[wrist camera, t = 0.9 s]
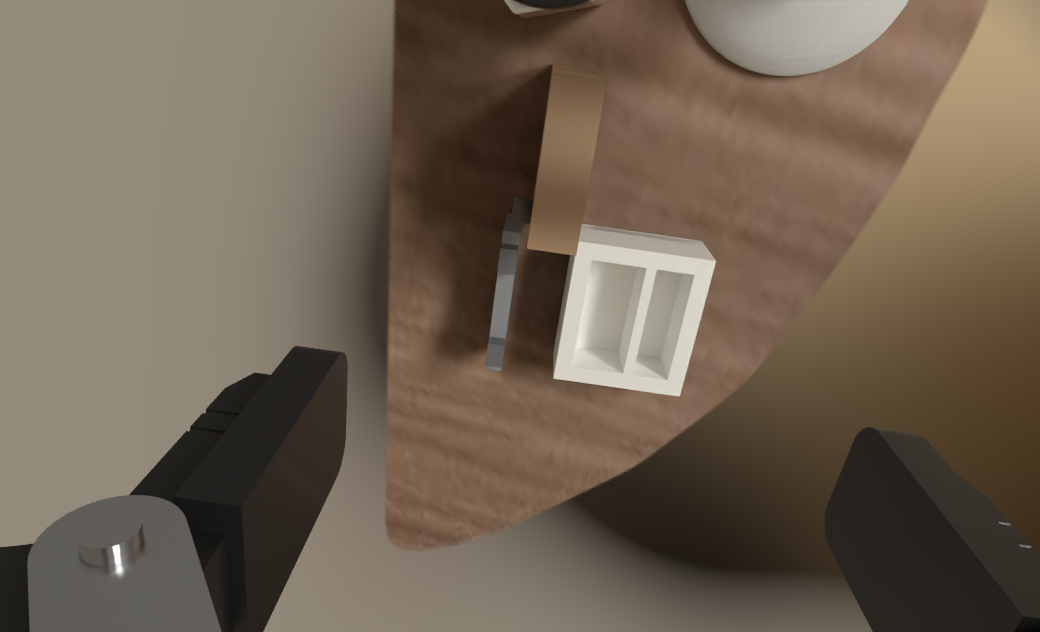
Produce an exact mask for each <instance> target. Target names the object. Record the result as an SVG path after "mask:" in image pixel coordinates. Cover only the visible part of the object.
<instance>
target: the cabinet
mask: <svg viewBox="0 0 1040 632" xmlns="http://www.w3.org/2000/svg"><path fill="white" fill-rule="evenodd" d="M511 214H512V213H507V217H506V221H505V225H504V229H503V235H502V243H501V247H500V254H499V262H498V270H497V273H498V274H497V282H496V290H495V297H494V305H493V313H492V320H491V328H490V336H489V341H488V347H487V355H486V362H485V366H486V367H485V369H490V370H497V371H501V368H502V362H503V355H504V349H505V342H506V335H507V328H508V321H509V314H510V307H511V299H512V292H513V285H514V278H515V271H516V264H517V257H518V250H519V243H520V236H521V228H522V222H517V221H511ZM715 263H716V260H715V259H714V258H713V256H712V255H711V253H710V252H709V251H708V249H707V248H706V247H705V245H704V244H703V242H702V241H699V240H692V239H685V238H678V237H671V236H664V235H657V234H650V233H643V232H636V231H629V230H622V229H616V228H609V227H602V226H595V225H588V224H582V226H581V232H580V237H579V243H578V248H577V254H576V256H574V255H570V257H569V263H568V269H567V275H566V280H565V286H564V292H563V298H562V303H561V309H560V315H559V321H558V326H557V332H556V338H555V344H554V349H553V379H561V380H568V381H575V382H582V383H589V384H596V385H603V386H610V387H617V388H624V389H631V390H638V391H645V392H652V393H659V394H666V395H673V396H680V394H681V390H682V386H683V382H684V379H685V375H686V371H687V368H688V364H689V360H690V356H691V353H692V349H693V345H694V341H695V338H696V334H697V330H698V326H699V323H700V319H701V315H702V312H703V308H704V304H705V300H706V297H707V293H708V289H709V285H710V282H711V278H712V274H713V270H714V267H715Z"/></svg>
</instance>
